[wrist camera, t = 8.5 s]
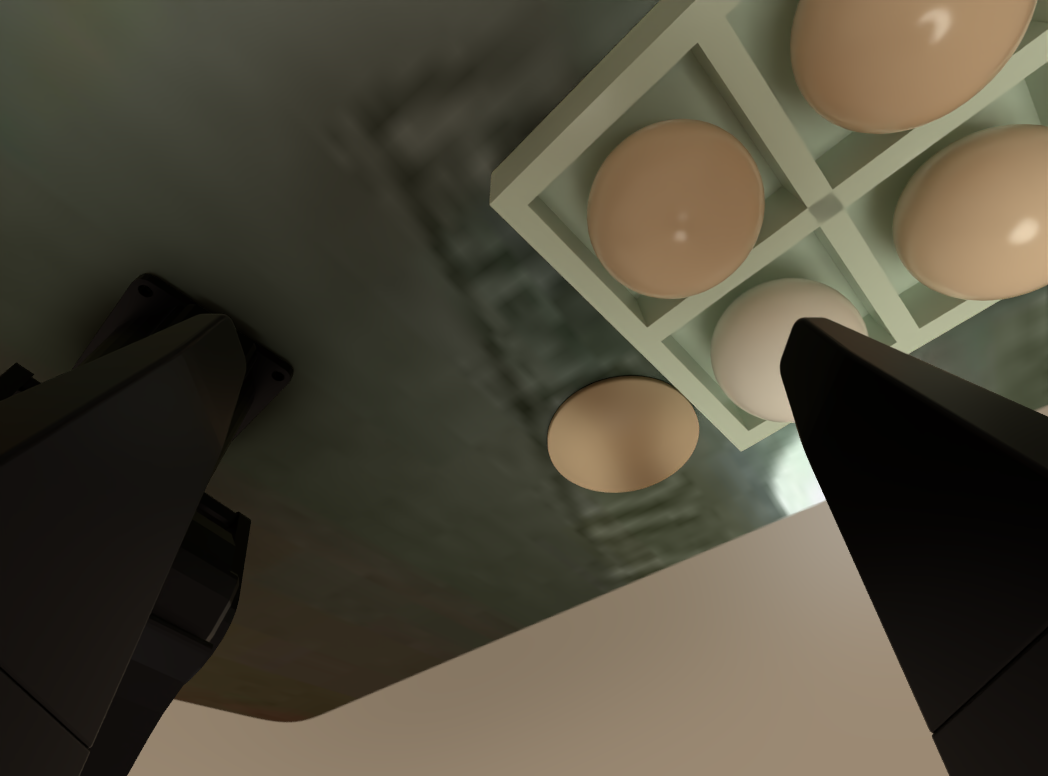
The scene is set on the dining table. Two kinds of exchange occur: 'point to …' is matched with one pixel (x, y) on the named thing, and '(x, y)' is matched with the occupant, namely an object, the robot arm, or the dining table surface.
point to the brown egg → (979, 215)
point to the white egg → (770, 340)
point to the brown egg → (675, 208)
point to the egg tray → (786, 170)
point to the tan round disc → (622, 434)
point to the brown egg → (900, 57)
